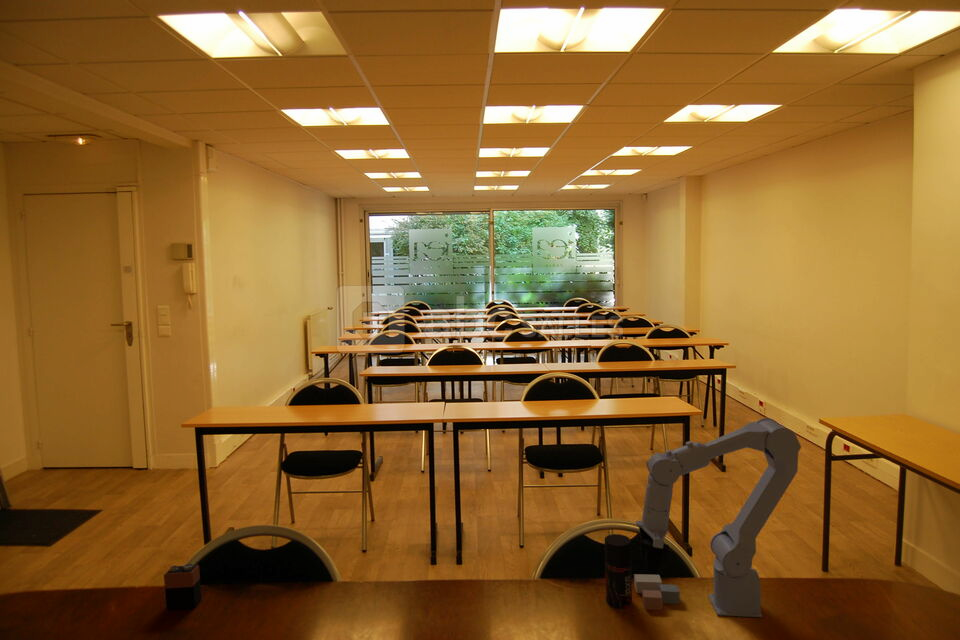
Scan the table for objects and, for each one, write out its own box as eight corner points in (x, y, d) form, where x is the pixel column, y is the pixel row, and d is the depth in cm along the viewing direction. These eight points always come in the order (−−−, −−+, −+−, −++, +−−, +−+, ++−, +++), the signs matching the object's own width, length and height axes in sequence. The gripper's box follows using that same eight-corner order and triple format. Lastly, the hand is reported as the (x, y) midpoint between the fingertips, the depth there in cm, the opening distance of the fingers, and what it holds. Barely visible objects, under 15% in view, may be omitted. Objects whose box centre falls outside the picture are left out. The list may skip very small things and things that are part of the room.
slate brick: (677, 597, 135) (676, 584, 135) (679, 604, 132) (679, 591, 132) (659, 596, 135) (659, 584, 135) (661, 603, 132) (661, 591, 132)
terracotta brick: (660, 603, 133) (660, 590, 132) (662, 610, 130) (662, 597, 129) (642, 602, 133) (642, 589, 133) (644, 609, 130) (644, 597, 130)
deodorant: (626, 611, 129) (624, 548, 128) (601, 603, 133) (600, 541, 132) (636, 599, 134) (634, 538, 133) (612, 592, 138) (611, 532, 137)
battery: (194, 609, 138) (191, 569, 137) (165, 611, 137) (162, 571, 137) (202, 599, 142) (199, 560, 141) (174, 601, 142) (171, 562, 141)
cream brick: (659, 586, 140) (659, 574, 140) (662, 594, 136) (662, 582, 136) (634, 585, 140) (634, 574, 140) (636, 593, 137) (636, 581, 137)
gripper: (635, 492, 137) (627, 545, 139) (643, 516, 123) (634, 576, 124) (665, 497, 136) (657, 551, 138) (676, 522, 122) (668, 582, 123)
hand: (648, 563), depth 131 cm, fingers open, 7 cm apart
